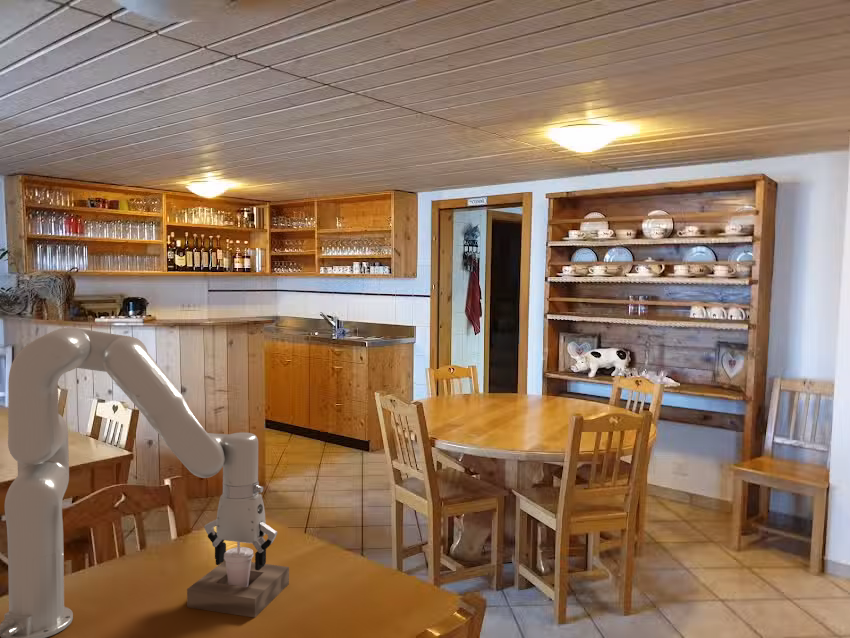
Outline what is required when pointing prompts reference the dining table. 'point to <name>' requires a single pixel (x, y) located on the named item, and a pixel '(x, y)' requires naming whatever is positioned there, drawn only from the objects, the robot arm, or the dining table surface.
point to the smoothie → (238, 565)
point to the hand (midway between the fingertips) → (240, 565)
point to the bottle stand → (238, 590)
